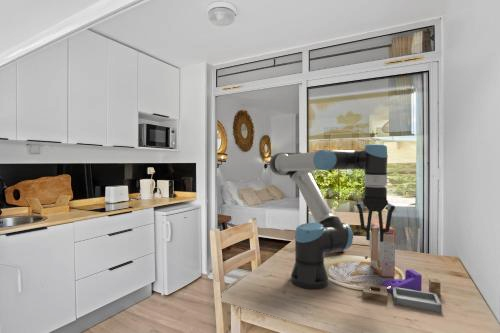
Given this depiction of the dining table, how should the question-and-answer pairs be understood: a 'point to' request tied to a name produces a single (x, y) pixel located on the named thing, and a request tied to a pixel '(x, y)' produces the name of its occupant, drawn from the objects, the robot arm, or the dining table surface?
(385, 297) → the dowel block
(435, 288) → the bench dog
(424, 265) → the dining table surface
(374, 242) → the dowel
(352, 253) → the dining table surface
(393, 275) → the cracker box
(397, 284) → the bracket
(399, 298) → the tray
